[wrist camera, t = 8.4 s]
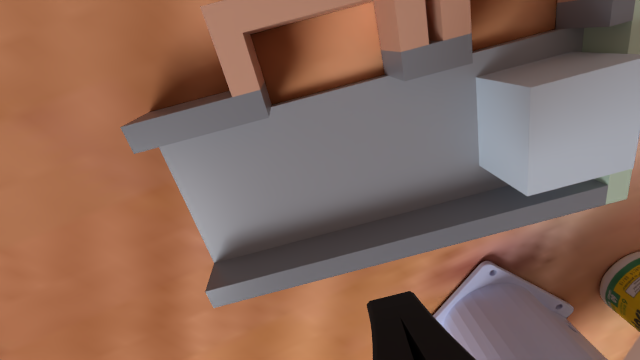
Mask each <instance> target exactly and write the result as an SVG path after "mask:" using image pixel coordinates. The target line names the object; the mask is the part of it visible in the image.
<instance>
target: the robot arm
mask: <svg viewBox="0 0 640 360" xmlns="http://www.w3.org/2000/svg"><path fill="white" fill-rule="evenodd" d="M490 271H491V272H490ZM367 308H368V313H369V318H370V322H371V329H372V343H373V360H607V359H606V358H605V357H604V356H603V355H602V354H601V353H600V352H599V351H598V350H597V349H596V348H595V347H594V346H593V345H592V344H591V343H590V342H589V341H588V340H587V339H586V338H585V337H584V336H583V335H582V334H581V333H580V332H579V331H578V330H577V329H576V328H575V327H574V326H573V325H572V324H571V323H570V322H569V321H568V320H567V319H566V318H567V317H568V316H569V315H570V314H571V313H572V312H573V310H574V308H573V307H572V306H571V305H570V304H569V303H567V302H566V301H564V300H562V299H560V298H558V297H556V296H554V295H552V294H550V293H549V292H547V291H545V290H543V289H541V288H539V287H537V286H535V285H533V284H531V283H530V282H528V281H526V280H524V279H522V278H520V277H518V276H516V275H514V274H513V273H511V272H509V271H507V270H505V269H503V268H501V267H499V266H497V265H495V264H494V263H492V262H490V261H484V262H482V263H480V264H479V266H478V267H477V268H476V269H475V270H474V271H473V272H472V273H471V274H470V275H469V277H468V278H467V279H466V280H465V281H464V282H463V283H462V284H461V285H460V286H459V288H458V289H457V290H456V291H455V292H454V293H453V294H452V295H451V296H450V297H449V299H448V300H447V301H446V302H445V303H444V304H443V305H442V306H441V307H440V308H439V310H438V311H437V312H436V313H435V314H434V315H433V316H432V314H431V313H430V312H429V311H428V310H427V309H426V308H425V306H424V305H423V304H422V303H421V302H420V301H419V299H418V298H417V297H416V296H415V294H414V293H412V292H410V291H408V292H404V293H400V294H396V295H392V296H388V297H384V298H380V299H376V300H372V301H369V303H368V304H367Z"/></svg>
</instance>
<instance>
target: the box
mask: <svg viewBox="0 0 640 360" xmlns="http://www.w3.org/2000/svg"><path fill="white" fill-rule="evenodd" d="M372 1H374V7H375V14H376V20H377V27H378V33H379V40H380V47H381V53H382V60H383V66H384V73H385V75H382V76H378V77H374V78H371V79H367V80H363V81H359V82H356V83H352V84H348V85H344V86H341V87H337V88H333V89H329V90H326V91H322V92H318V93H314V94H311V95H307V96H303V97H300V98H296V99H292V100H288V101H285V102H281V103H277V104H273V105H272V104H271V101H270V98H269V94H268V91H267V88H266V85H265V81H264V78H263V75H262V72H261V68H260V65H259V62H258V58H257V55H256V52H255V49H254V45H253V42H252V39H251V35H250V34H253V33H257V32H261V31H264V30H268V29H272V28H275V27H279V26H283V25H287V24H290V23H294V22H298V21H301V20H305V19H309V18H313V17H316V16H320V15H324V14H327V13H331V12H335V11H339V10H342V9H346V8H350V7H353V6H357V5H361V4H365V3H368V2H372ZM201 10H202V13H203V16H204V19H205V22H206V24H207V27H208V30H209V33H210V36H211V39H212V41H213V44H214V47H215V50H216V53H217V56H218V58H219V61H220V64H221V67H222V70H223V73H224V75H225V78H226V81H227V84H228V87H229V90H230V91H227V92H223V93H219V94H216V95H212V96H208V97H204V98H201V99H197V100H193V101H190V102H186V103H182V104H178V105H175V106H171V107H167V108H163V109H160V110H156V111H152V112H148V113H147V114H145V115H143V116H141V117H139V118H137V119H135V120H133V121H131V122H129V123H127V124H126V125H124V126H122V127H121V129H122V131H123V133H124V135H125V137H126V139H127V141H128V143H129V145H130V147H131V149H132V151H133V153H134V154H135V153H139V152H142V151H146V150H150V149H154V148H157V147H159V148H160V150H161V152H162V154H163V156H164V159H165V161H166V163H167V165H168V167H169V169H170V171H171V173H172V175H173V177H174V180H175V182H176V184H177V186H178V188H179V190H180V192H181V194H182V196H183V198H184V200H185V203H186V205H187V207H188V209H189V211H190V213H191V215H192V217H193V219H194V221H195V224H196V226H197V228H198V230H199V232H200V234H201V236H202V238H203V240H204V242H205V244H206V247H207V249H208V251H209V253H210V255H211V257H212V259H213V261H214V266H213V269H212V272H211V275H210V279H209V282H208V285H207V288H206V291H205V292H206V294H207V296H208V298H209V300H210V302H211V304H212V306H213V308H216V307H219V306H223V305H227V304H231V303H235V302H238V301H242V300H246V299H250V298H253V297H257V296H261V295H265V294H269V293H272V292H276V291H280V290H284V289H288V288H291V287H295V286H299V285H303V284H307V283H310V282H314V281H318V280H322V279H326V278H329V277H333V276H337V275H341V274H345V273H348V272H352V271H356V270H360V269H363V268H367V267H371V266H375V265H379V264H382V263H386V262H390V261H394V260H398V259H401V258H405V257H409V256H413V255H417V254H420V253H424V252H428V251H432V250H436V249H439V248H443V247H447V246H451V245H455V244H458V243H462V242H466V241H470V240H473V239H477V238H481V237H485V236H489V235H492V234H496V233H500V232H504V231H508V230H511V229H515V228H519V227H523V226H527V225H530V224H534V223H538V222H542V221H546V220H549V219H553V218H557V217H561V216H565V215H568V214H572V213H576V212H580V211H583V210H587V209H591V208H595V207H599V206H602V205H606V204H610V203H614V202H618V201H621V200H625V199H627V196H628V191H629V185H630V179H631V174H632V169H629V170H625V171H622V172H618V173H614V174H610V175H606V176H603V177H599V178H595V179H591V180H588V181H584V182H580V183H576V184H572V185H569V186H565V187H561V188H557V189H554V190H550V191H546V192H542V193H538V194H535V195H531V196H526V195H524V194H523V193H521V192H520V191H518V190H517V189H515V188H513V187H512V186H510V185H509V184H507V183H506V182H504V181H503V180H501V179H499V178H498V177H496V176H495V175H493V174H492V173H490V172H489V171H487V170H485V169H484V168H482V167H481V166H479V145H478V119H477V94H476V77H479V76H482V75H486V74H490V73H494V72H497V71H501V70H505V69H509V68H512V67H516V66H520V65H524V64H527V63H531V62H535V61H538V60H542V59H546V58H550V57H553V56H557V55H561V54H565V53H568V52H591V53H617V54H640V0H557V10H556V28H555V29H554V30H550V31H546V32H543V33H539V34H535V35H531V36H528V37H524V38H520V39H516V40H513V41H509V42H505V43H501V44H498V45H494V46H490V47H486V48H483V49H479V50H475V51H472V32H471V8H470V0H223V1H219V2H215V3H212V4H208V5H204V6H201Z"/></svg>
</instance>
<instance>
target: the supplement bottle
mask: <svg viewBox="0 0 640 360" xmlns="http://www.w3.org/2000/svg"><path fill="white" fill-rule="evenodd" d="M600 295H601V298H602V300H603V301H604V302H605V303H606V304H607V305H608V306H609V307H610V308H611V309H613V310H614V311H615V312H616V313H618V314H619V315H620V316H621V317H622V318H624V319H625V320H626V321H627V322H628V323H630V324H631V325H632V326H633V327H634V328H636V329H637V330H638V331H639V332H640V251H639V252H635V253H632V254H629V255H627V256H625V257H623V258H622V259H620V260H619V261H618V262H616V263H615V264H614V265H613V266H612V267H611V268H610V269H609V270H608V271H607V272H606V273H605V275H604V277H603V278H602V281H601V284H600Z"/></svg>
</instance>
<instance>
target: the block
mask: <svg viewBox="0 0 640 360" xmlns="http://www.w3.org/2000/svg"><path fill="white" fill-rule="evenodd" d="M476 94H477V119H478V145H479V166H481V167H482V168H484V169H485V170H487V171H489V172H490V173H492V174H493V175H495V176H496V177H498V178H499V179H501V180H503V181H504V182H506V183H507V184H509V185H510V186H512V187H513V188H515V189H517V190H518V191H520V192H521V193H523V194H524V195H526V196H531V195H535V194H538V193H542V192H546V191H550V190H554V189H557V188H561V187H565V186H569V185H572V184H576V183H580V182H584V181H588V180H591V179H595V178H599V177H603V176H606V175H610V174H614V173H618V172H622V171H625V170H629V169H633V167H634V162H635V156H636V150H637V145H638V139H639V133H640V54H617V53H591V52H568V53H565V54H561V55H557V56H553V57H550V58H546V59H542V60H538V61H535V62H531V63H527V64H524V65H520V66H516V67H512V68H509V69H505V70H501V71H497V72H494V73H490V74H486V75H482V76H479V77H476Z"/></svg>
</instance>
